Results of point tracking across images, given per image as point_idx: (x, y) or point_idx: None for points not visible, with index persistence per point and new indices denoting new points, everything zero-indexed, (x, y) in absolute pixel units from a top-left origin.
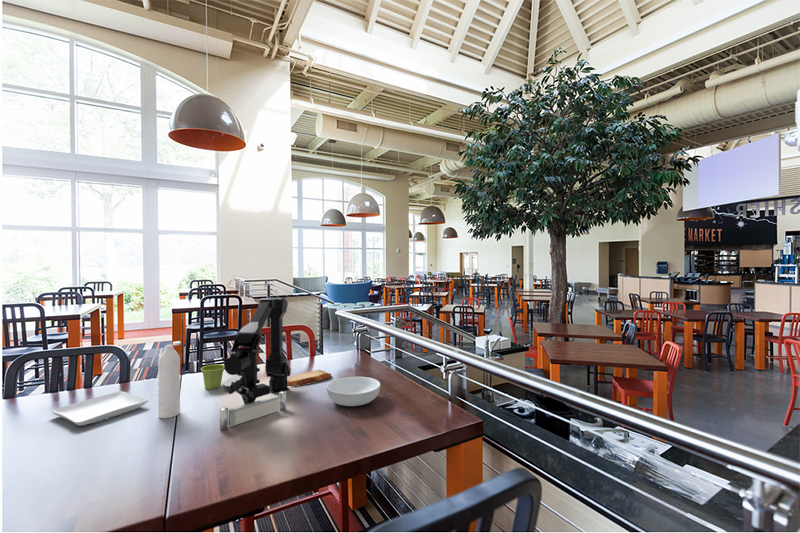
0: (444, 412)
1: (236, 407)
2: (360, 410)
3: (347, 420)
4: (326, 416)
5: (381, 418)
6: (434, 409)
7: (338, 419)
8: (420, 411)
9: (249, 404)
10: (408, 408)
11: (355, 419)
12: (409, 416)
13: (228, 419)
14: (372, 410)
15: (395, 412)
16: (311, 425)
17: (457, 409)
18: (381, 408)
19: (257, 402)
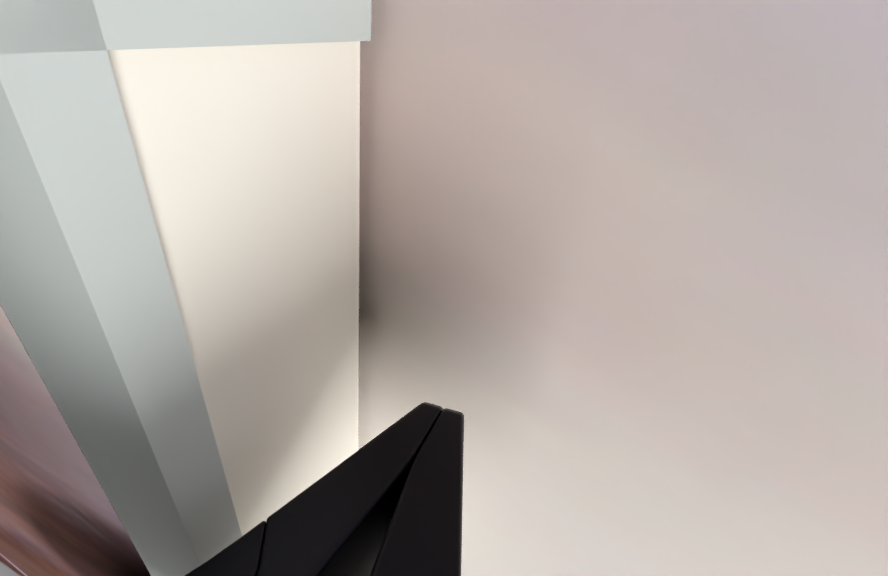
0: (4, 554)
1: (2, 166)
2: (103, 554)
3: (28, 472)
4: (102, 491)
5: (11, 505)
6: (29, 568)
7: (50, 473)
8: (27, 556)
9: (111, 457)
10: (59, 572)
11: (28, 485)
12: (3, 526)
13: None
14: (85, 556)
15: (43, 547)
16: (22, 389)
17: (13, 569)
18: (90, 570)
19: (144, 546)
